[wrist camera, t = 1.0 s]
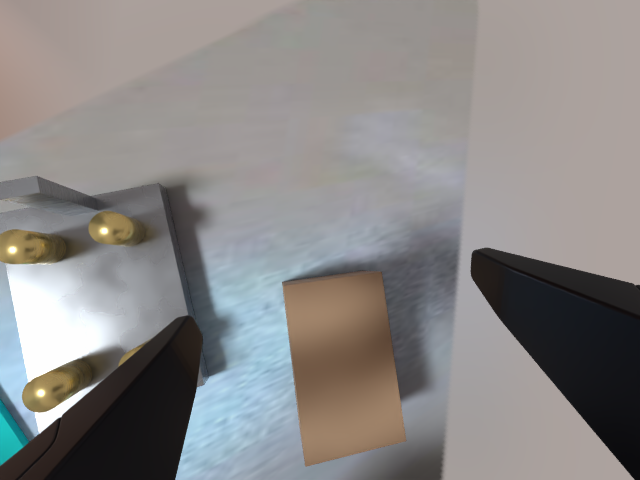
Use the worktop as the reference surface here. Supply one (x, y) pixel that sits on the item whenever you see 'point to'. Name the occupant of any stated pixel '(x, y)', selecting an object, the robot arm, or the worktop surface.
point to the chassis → (88, 284)
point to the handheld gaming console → (9, 435)
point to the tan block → (343, 365)
